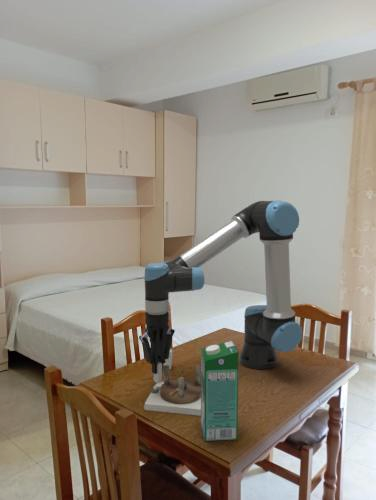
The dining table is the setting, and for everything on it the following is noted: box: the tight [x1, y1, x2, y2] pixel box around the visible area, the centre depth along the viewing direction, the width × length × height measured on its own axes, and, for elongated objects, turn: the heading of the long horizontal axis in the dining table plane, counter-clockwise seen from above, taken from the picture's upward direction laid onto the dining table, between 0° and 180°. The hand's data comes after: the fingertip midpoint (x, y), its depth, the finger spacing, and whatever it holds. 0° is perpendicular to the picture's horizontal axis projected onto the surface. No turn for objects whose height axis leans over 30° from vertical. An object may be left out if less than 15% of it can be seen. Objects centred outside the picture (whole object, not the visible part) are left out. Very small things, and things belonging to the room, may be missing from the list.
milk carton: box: [200, 340, 240, 442], centre depth 112 cm, size 9×9×25 cm
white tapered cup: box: [162, 348, 174, 372], centre depth 156 cm, size 7×7×7 cm
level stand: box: [143, 381, 201, 417], centre depth 130 cm, size 20×16×4 cm
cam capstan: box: [160, 364, 201, 403], centre depth 130 cm, size 14×14×8 cm
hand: (157, 381), depth 131 cm, fingers closed
